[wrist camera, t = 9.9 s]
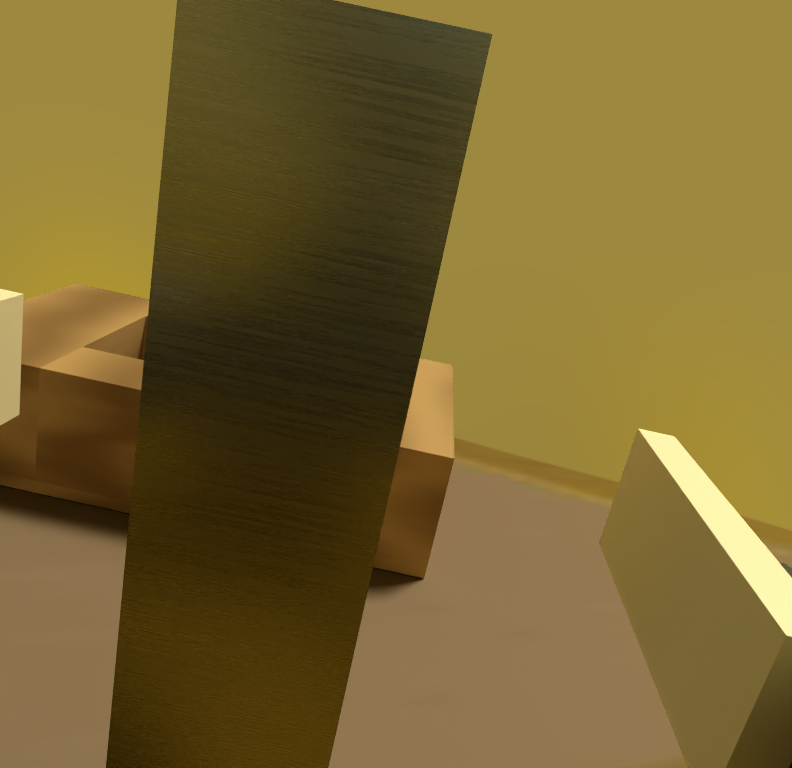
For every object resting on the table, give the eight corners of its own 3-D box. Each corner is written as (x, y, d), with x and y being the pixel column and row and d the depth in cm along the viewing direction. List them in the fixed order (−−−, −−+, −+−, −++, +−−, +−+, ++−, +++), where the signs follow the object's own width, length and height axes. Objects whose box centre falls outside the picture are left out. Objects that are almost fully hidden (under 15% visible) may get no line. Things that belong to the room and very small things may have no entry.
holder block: (-95, 464, 26) (-98, 338, 24) (71, 373, 37) (76, 283, 36) (423, 578, 26) (454, 458, 24) (431, 452, 37) (452, 365, 36)
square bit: (90, 936, 13) (179, -33, 8) (166, 773, 16) (262, 29, 11) (280, 979, 13) (492, 34, 8) (316, 806, 16) (478, 75, 11)
